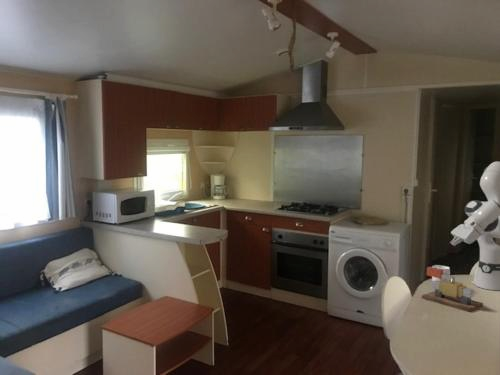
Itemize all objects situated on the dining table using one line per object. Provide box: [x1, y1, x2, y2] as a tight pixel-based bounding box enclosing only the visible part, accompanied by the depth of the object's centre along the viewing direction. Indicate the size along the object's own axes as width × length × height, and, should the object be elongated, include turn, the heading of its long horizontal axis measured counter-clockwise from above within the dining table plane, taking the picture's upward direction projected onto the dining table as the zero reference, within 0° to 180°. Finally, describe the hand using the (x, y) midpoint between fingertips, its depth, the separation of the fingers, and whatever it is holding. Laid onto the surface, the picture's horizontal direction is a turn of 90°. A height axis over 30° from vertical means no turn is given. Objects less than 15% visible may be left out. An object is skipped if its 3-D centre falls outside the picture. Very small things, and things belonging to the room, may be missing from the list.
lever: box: [426, 266, 456, 283], centre depth 202 cm, size 13×3×5 cm, turn 39°
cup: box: [431, 264, 451, 282], centre depth 220 cm, size 9×9×12 cm
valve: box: [432, 279, 474, 305], centre depth 198 cm, size 6×18×8 cm, turn 38°
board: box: [421, 290, 484, 313], centre depth 199 cm, size 14×23×2 cm, turn 38°
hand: (452, 244), depth 207 cm, fingers closed
